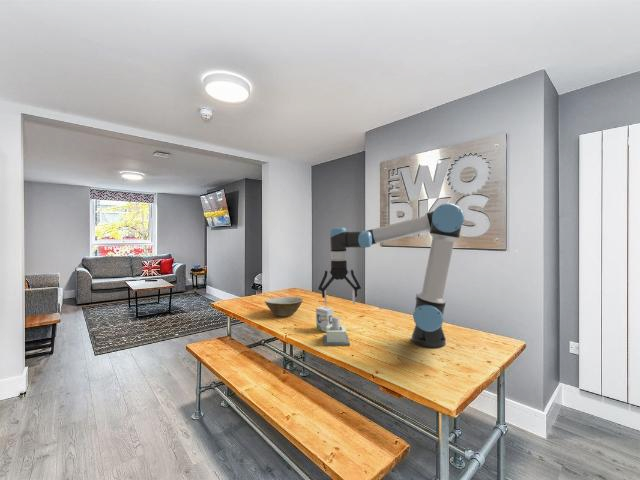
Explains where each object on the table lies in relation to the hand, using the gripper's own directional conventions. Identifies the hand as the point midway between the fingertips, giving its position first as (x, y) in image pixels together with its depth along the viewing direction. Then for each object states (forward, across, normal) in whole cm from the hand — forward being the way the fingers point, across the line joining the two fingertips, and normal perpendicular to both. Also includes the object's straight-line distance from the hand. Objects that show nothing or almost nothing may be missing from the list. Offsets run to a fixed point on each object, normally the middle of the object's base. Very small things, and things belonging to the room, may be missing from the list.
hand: (339, 304), depth 145 cm
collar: (+17, +2, 0) cm, 17 cm away
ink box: (+18, +7, -16) cm, 25 cm away
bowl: (+17, +32, -46) cm, 59 cm away
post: (+18, +2, 0) cm, 18 cm away
